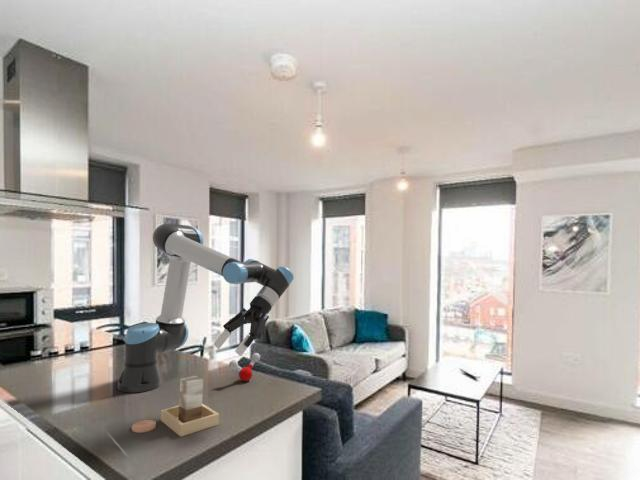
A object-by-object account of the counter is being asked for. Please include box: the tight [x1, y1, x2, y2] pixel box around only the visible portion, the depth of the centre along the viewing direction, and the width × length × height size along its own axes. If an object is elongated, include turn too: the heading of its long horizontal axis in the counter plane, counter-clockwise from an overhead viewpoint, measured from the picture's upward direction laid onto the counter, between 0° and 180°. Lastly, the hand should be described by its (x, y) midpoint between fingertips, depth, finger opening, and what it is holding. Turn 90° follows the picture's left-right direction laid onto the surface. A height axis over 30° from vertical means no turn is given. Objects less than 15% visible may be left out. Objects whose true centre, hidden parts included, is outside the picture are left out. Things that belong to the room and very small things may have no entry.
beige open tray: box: [160, 402, 220, 438], centre depth 114 cm, size 14×12×4 cm
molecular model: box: [228, 352, 261, 382], centre depth 155 cm, size 18×6×10 cm, turn 156°
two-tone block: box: [178, 375, 204, 423], centre depth 114 cm, size 5×5×13 cm
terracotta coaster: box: [131, 419, 157, 434], centre depth 109 cm, size 6×6×1 cm
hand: (226, 350), depth 124 cm, fingers open, 13 cm apart
